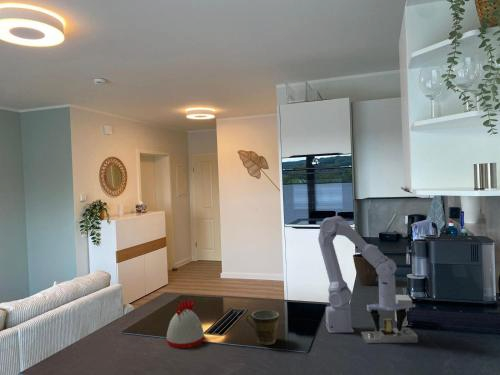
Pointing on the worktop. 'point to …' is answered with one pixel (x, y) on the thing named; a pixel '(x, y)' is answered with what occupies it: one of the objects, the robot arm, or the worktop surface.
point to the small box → (403, 300)
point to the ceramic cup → (265, 325)
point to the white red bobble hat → (185, 327)
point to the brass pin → (388, 326)
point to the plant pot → (364, 270)
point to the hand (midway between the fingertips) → (388, 330)
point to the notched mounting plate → (390, 336)
